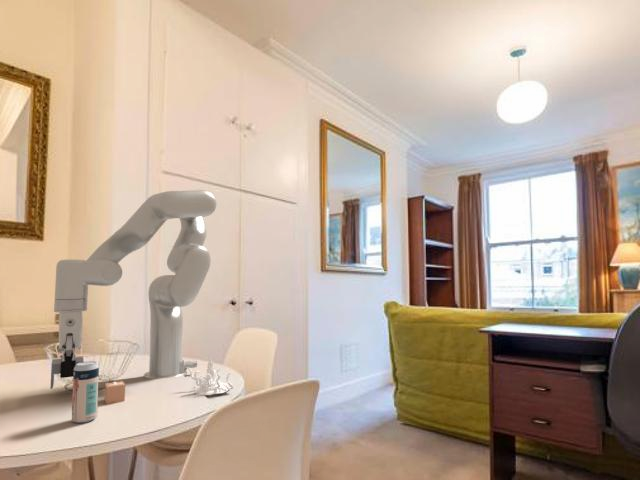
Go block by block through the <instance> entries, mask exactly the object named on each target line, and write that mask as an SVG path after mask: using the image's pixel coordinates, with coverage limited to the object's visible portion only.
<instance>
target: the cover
mask: <svg viewBox="0 0 640 480" xmlns="http://www.w3.org/2000/svg"><path fill="white" fill-rule="evenodd" d="M75 360H76V363H75V366H76V364H78V363H81V362H85V360H84V356H77V357H76V356H75ZM64 361H65V360H64ZM61 362H62V359H61V358H53V359H52V360H51V368H50V369H51V370H50V371H51V372H50V389H51V390H52V389H53V388H54V382H55V375H60V370H61Z"/></svg>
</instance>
